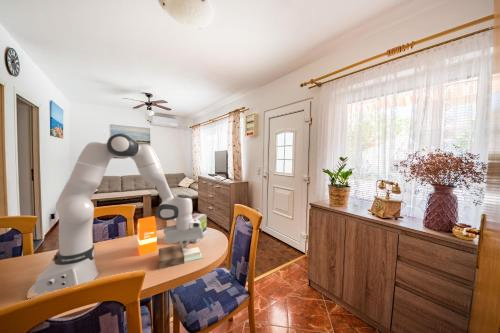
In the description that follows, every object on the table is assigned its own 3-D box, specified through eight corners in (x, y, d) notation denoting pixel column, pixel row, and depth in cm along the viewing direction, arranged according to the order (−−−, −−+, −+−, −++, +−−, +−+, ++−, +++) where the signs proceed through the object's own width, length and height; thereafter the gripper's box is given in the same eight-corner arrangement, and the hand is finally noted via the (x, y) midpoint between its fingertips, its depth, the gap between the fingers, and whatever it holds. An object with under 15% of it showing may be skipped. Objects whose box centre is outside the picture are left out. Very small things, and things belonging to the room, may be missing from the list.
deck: (159, 269, 94) (158, 261, 94) (158, 255, 107) (158, 248, 107) (184, 263, 100) (184, 256, 100) (181, 250, 112) (181, 244, 112)
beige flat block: (183, 258, 104) (183, 255, 103) (182, 253, 109) (182, 250, 109) (200, 255, 107) (200, 251, 107) (198, 250, 113) (198, 247, 113)
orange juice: (157, 250, 112) (156, 217, 111) (140, 255, 107) (139, 221, 105) (154, 245, 118) (153, 214, 117) (137, 250, 113) (136, 217, 111)
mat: (184, 262, 101) (184, 261, 101) (181, 251, 111) (181, 251, 111) (202, 258, 105) (202, 257, 105) (198, 248, 116) (198, 247, 116)
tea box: (197, 243, 122) (197, 220, 121) (183, 241, 124) (182, 219, 123) (207, 233, 137) (206, 213, 136) (194, 232, 139) (194, 212, 138)
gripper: (163, 229, 98) (164, 254, 99) (203, 223, 107) (203, 246, 108) (163, 224, 103) (163, 249, 104) (201, 219, 112) (201, 242, 113)
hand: (184, 248), depth 106 cm, fingers closed
